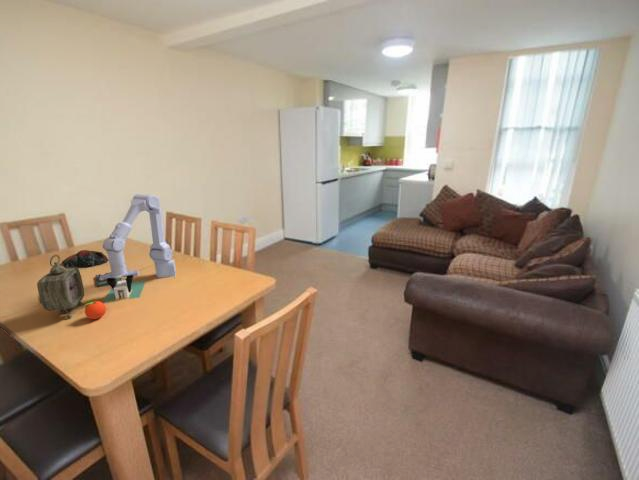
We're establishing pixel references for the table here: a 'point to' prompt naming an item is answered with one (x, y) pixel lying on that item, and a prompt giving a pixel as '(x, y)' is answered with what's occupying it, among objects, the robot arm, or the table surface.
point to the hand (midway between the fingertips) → (123, 292)
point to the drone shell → (85, 259)
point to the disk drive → (104, 282)
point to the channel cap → (121, 286)
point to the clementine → (95, 310)
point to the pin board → (135, 293)
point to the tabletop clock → (61, 288)
